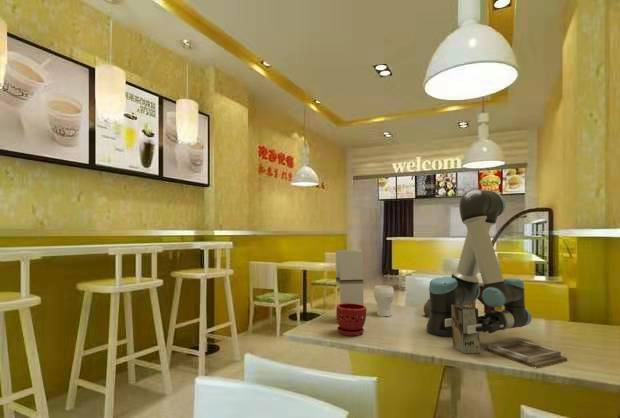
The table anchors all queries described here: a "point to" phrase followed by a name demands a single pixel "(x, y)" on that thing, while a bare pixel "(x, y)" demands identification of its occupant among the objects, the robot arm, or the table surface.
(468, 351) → the coffee box
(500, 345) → the brown flat tray
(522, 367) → the table surface
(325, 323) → the table surface
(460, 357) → the table surface
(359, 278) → the white banded column
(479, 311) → the decorated donut
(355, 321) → the plant pot
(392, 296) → the cup
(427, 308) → the vase
